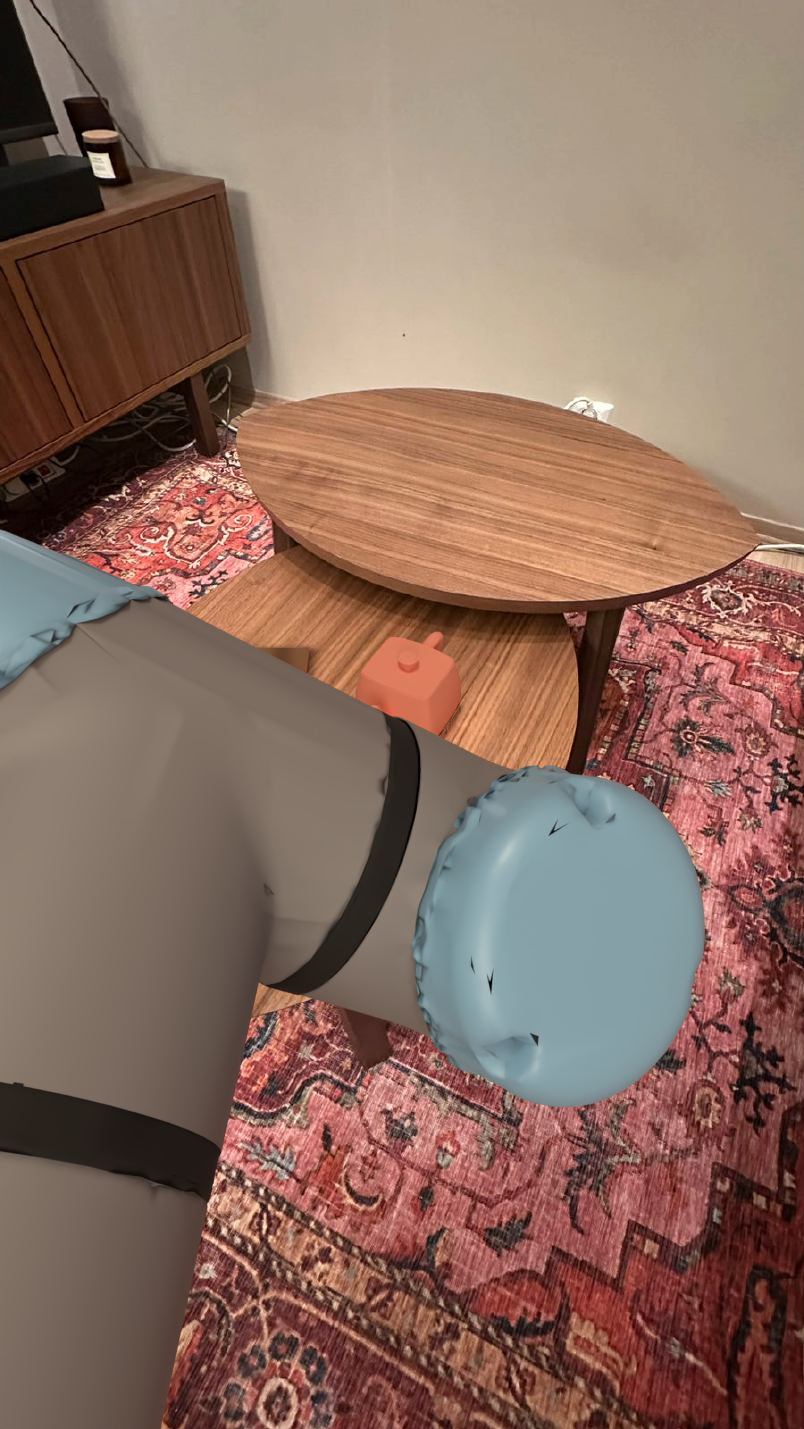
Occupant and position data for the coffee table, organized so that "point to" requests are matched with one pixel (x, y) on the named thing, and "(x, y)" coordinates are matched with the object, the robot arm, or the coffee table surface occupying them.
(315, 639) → the coffee table surface
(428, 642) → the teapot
